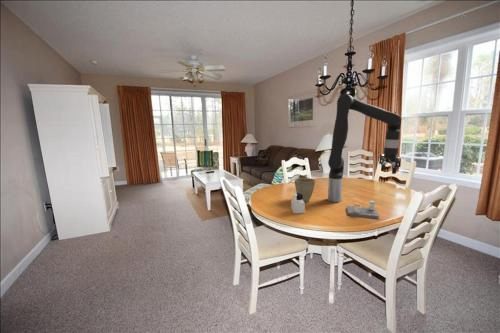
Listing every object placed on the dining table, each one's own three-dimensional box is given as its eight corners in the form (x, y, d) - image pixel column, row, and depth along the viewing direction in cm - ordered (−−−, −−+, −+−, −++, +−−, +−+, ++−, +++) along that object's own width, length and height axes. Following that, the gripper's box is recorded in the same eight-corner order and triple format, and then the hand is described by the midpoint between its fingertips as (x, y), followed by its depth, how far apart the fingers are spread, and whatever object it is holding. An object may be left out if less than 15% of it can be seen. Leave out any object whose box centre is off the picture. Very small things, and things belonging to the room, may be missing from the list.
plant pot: (315, 204, 152) (316, 182, 150) (294, 203, 155) (294, 182, 153) (313, 197, 167) (314, 177, 164) (294, 197, 170) (294, 177, 167)
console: (347, 215, 132) (348, 212, 132) (347, 208, 144) (347, 205, 144) (378, 218, 126) (378, 216, 126) (375, 210, 138) (375, 208, 137)
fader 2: (369, 209, 135) (370, 202, 134) (369, 208, 137) (369, 200, 137) (374, 210, 134) (374, 202, 133) (373, 208, 136) (374, 201, 136)
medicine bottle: (301, 209, 144) (302, 192, 142) (304, 213, 137) (305, 195, 135) (291, 209, 144) (291, 192, 142) (293, 213, 137) (293, 195, 135)
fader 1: (354, 212, 132) (355, 204, 131) (354, 210, 134) (354, 202, 134) (359, 212, 131) (359, 204, 130) (358, 210, 133) (359, 203, 133)
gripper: (377, 146, 140) (374, 170, 143) (395, 148, 126) (392, 175, 129) (387, 145, 141) (384, 169, 144) (406, 147, 127) (403, 174, 130)
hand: (388, 172), depth 137 cm, fingers open, 8 cm apart
